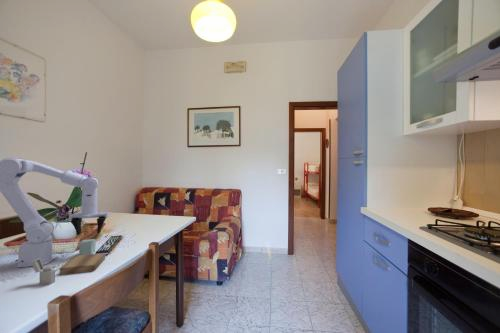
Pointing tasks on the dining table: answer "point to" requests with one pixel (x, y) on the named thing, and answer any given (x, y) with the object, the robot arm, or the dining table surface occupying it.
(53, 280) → the lighter
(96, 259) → the walnut base
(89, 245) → the teal block
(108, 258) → the dining table surface
